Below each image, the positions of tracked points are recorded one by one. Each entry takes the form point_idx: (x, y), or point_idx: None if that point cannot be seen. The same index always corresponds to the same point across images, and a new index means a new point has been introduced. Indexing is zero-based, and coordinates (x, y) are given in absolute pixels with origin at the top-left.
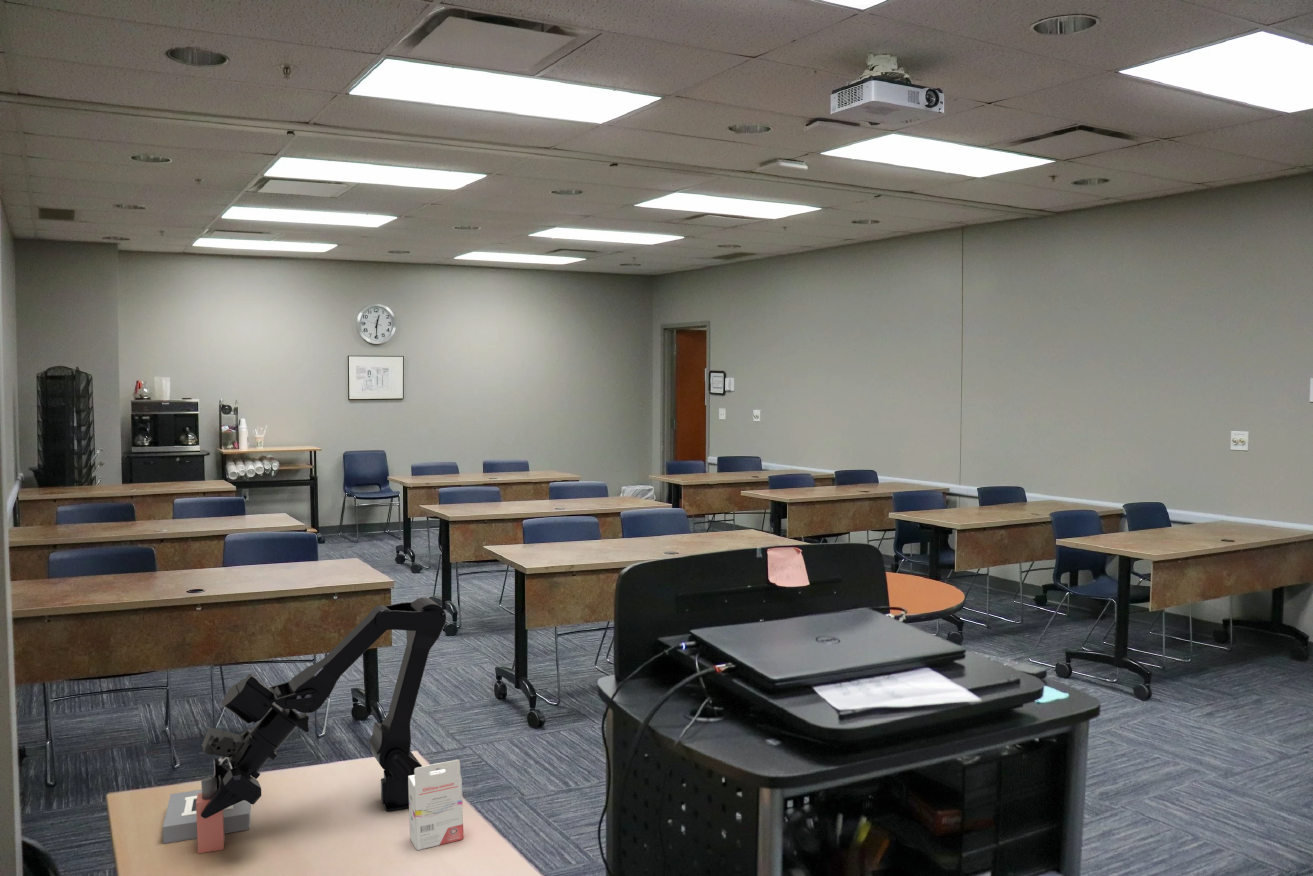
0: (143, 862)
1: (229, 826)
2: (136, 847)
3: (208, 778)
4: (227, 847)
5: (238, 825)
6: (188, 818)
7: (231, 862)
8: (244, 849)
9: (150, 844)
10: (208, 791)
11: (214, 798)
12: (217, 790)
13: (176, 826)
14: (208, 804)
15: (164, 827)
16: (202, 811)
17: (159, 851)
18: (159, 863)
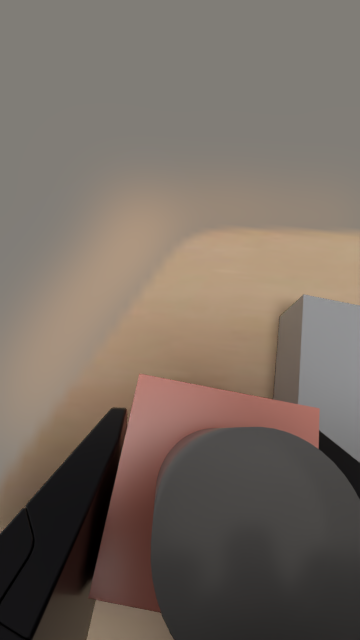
0: (186, 259)
1: None
2: (290, 253)
3: (322, 547)
4: None
5: None
6: (343, 387)
7: (6, 510)
8: None
9: (293, 286)
10: (156, 492)
11: (5, 534)
12: (4, 619)
13: (298, 340)
14: (68, 463)
15: (302, 301)
16: (118, 418)
17: (233, 302)
18: (154, 294)
